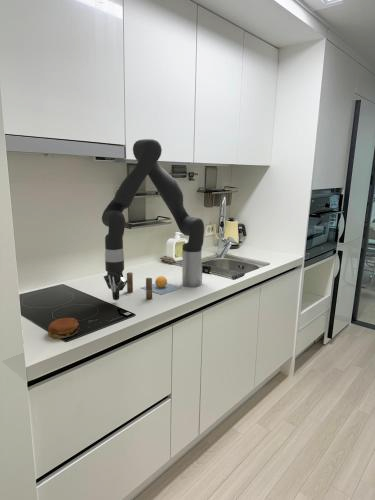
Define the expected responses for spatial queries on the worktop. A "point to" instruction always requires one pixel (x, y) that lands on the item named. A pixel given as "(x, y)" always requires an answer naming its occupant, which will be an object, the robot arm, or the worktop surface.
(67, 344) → the worktop surface
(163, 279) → the ball
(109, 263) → the robot arm
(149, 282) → the post
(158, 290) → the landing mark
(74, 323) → the burger
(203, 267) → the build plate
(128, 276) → the post
